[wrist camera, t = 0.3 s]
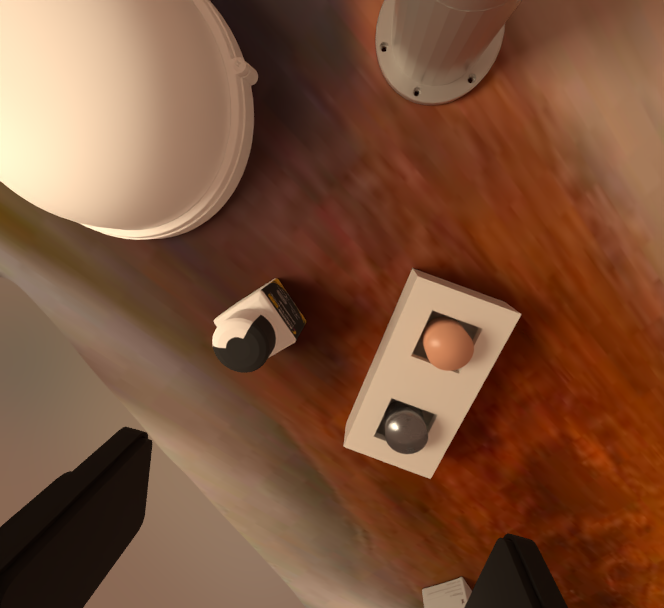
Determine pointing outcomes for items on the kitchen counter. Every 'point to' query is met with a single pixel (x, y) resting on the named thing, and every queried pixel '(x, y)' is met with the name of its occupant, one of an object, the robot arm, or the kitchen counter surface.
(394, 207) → the kitchen counter surface
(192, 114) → the dome cover
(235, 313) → the medicine bottle
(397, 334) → the button console
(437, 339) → the light brown rounded piece
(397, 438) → the charcoal button
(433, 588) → the supplement box
